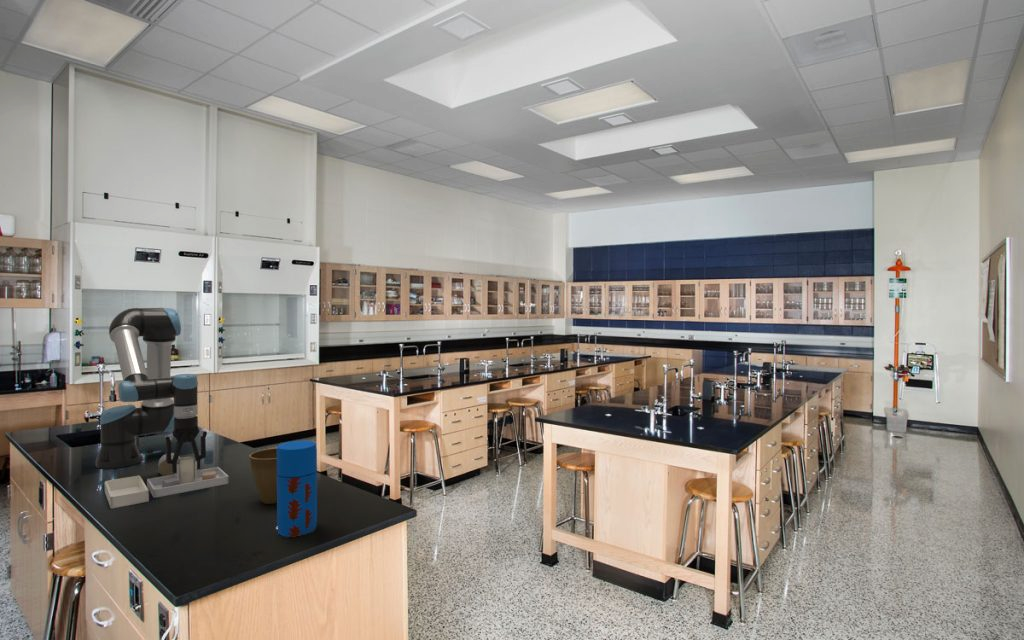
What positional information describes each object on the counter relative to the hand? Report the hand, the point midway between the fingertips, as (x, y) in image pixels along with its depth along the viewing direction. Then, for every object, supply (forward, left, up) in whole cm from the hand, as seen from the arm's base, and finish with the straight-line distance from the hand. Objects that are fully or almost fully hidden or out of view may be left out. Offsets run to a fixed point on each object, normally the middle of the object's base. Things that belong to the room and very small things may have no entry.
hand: (186, 479), depth 201 cm
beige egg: (0, 0, -1) cm, 1 cm away
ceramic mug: (-17, -1, -2) cm, 17 cm away
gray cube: (+7, -6, -1) cm, 9 cm away
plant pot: (+38, +19, -2) cm, 43 cm away
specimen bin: (+3, -18, -2) cm, 19 cm away
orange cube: (+7, +6, -1) cm, 9 cm away
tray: (+3, 0, -2) cm, 3 cm away
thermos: (+68, +16, -2) cm, 70 cm away
